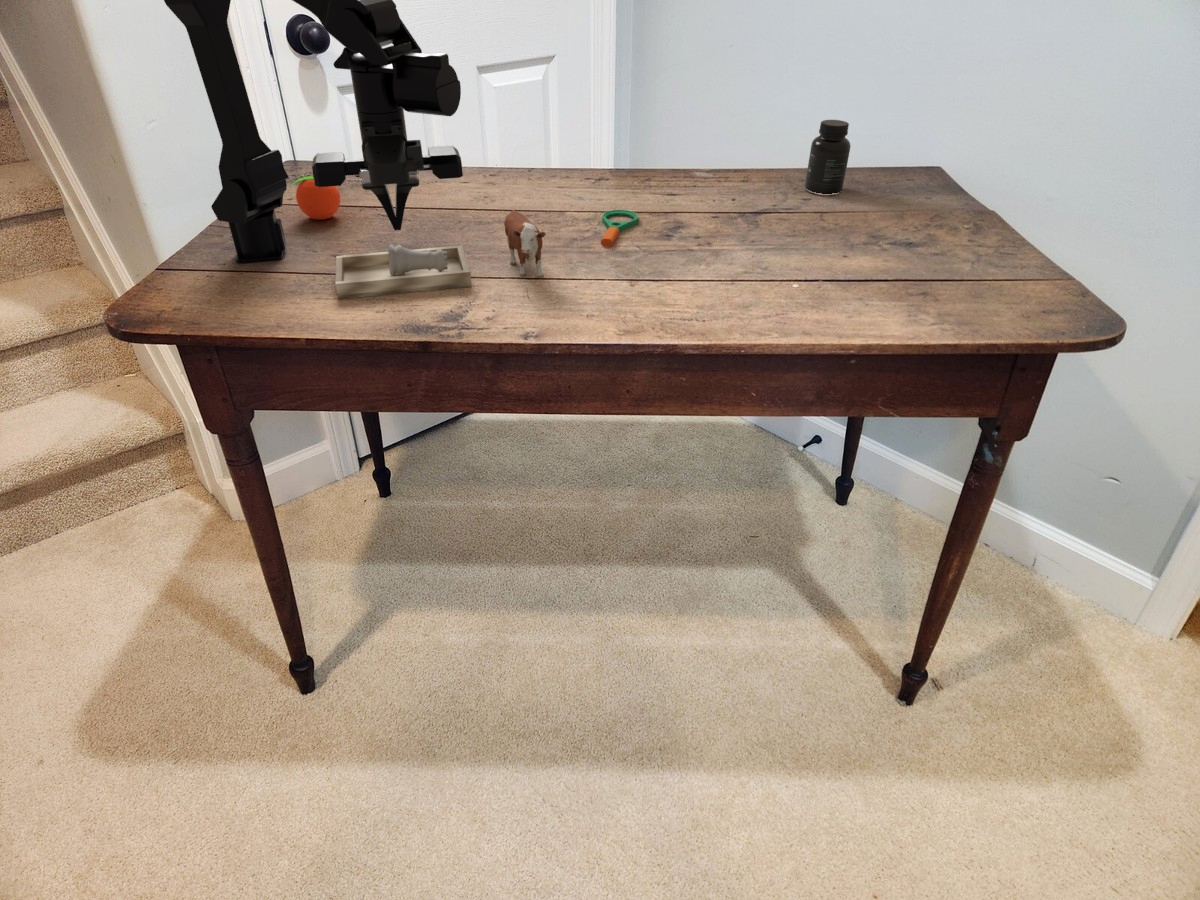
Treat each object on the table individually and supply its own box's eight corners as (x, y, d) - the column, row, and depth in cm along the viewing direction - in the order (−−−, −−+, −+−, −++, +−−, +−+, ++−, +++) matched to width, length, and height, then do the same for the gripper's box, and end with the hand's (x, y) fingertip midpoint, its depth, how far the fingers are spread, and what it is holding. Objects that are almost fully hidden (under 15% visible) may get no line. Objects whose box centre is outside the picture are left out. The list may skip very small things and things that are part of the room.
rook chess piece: (389, 279, 110) (448, 279, 112) (387, 246, 108) (447, 246, 110) (390, 273, 114) (446, 273, 116) (388, 241, 112) (445, 242, 114)
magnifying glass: (606, 215, 136) (606, 205, 135) (640, 218, 135) (641, 208, 134) (587, 247, 124) (587, 237, 123) (625, 251, 123) (625, 240, 122)
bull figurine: (520, 290, 110) (517, 233, 105) (503, 254, 120) (500, 201, 116) (551, 287, 111) (549, 231, 106) (531, 252, 121) (529, 199, 117)
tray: (338, 299, 107) (335, 284, 106) (339, 270, 115) (336, 255, 114) (471, 286, 111) (470, 271, 109) (463, 259, 119) (462, 245, 117)
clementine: (293, 228, 129) (283, 184, 124) (294, 213, 134) (285, 171, 130) (344, 223, 130) (336, 180, 126) (343, 209, 136) (335, 167, 132)
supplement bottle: (800, 184, 150) (811, 117, 143) (837, 185, 150) (849, 118, 143) (808, 196, 144) (819, 127, 137) (845, 196, 144) (859, 127, 137)
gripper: (299, 128, 91) (325, 257, 100) (461, 120, 95) (472, 245, 104) (303, 106, 100) (327, 227, 109) (452, 99, 104) (463, 216, 113)
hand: (397, 229), depth 109 cm, fingers closed
